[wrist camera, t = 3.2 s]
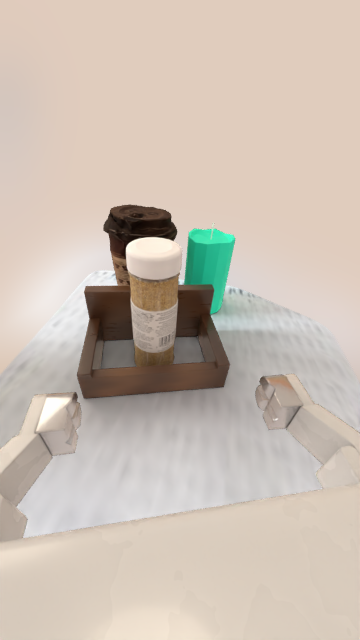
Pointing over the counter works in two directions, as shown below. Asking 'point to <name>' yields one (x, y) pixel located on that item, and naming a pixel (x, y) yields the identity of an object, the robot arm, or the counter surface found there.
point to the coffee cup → (134, 232)
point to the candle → (209, 261)
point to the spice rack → (116, 324)
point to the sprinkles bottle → (154, 298)
